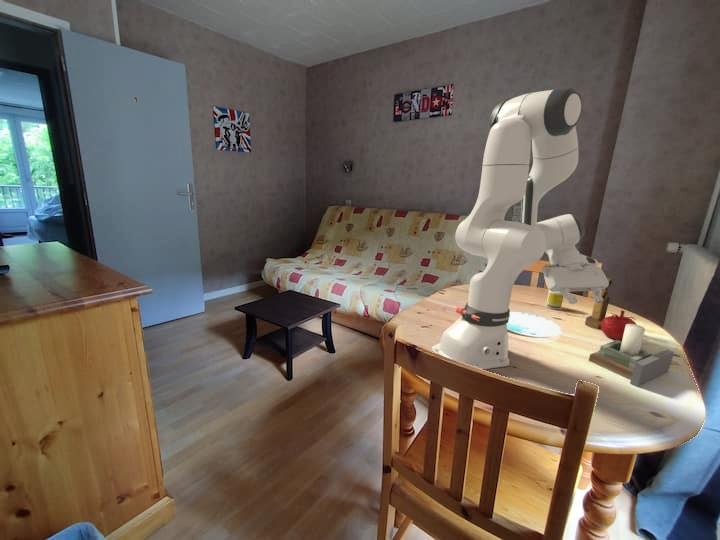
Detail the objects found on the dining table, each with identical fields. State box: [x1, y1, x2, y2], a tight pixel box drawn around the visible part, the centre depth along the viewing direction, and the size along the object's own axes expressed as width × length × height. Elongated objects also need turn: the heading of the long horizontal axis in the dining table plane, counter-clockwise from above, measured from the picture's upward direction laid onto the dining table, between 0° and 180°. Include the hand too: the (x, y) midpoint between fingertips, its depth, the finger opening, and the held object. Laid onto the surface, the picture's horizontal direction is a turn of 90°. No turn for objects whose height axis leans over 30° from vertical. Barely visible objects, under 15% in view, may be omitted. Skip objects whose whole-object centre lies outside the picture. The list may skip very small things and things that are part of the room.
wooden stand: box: [584, 277, 613, 331], centre depth 112 cm, size 7×6×18 cm
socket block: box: [588, 339, 654, 381], centre depth 89 cm, size 12×11×5 cm
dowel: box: [620, 324, 646, 357], centre depth 87 cm, size 4×4×10 cm
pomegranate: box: [601, 310, 637, 341], centre depth 105 cm, size 10×10×9 cm
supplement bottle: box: [545, 289, 564, 310], centre depth 130 cm, size 5×5×10 cm
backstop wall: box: [629, 349, 675, 387], centre depth 83 cm, size 16×2×6 cm, turn 116°
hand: (586, 302), depth 99 cm, fingers open, 8 cm apart
